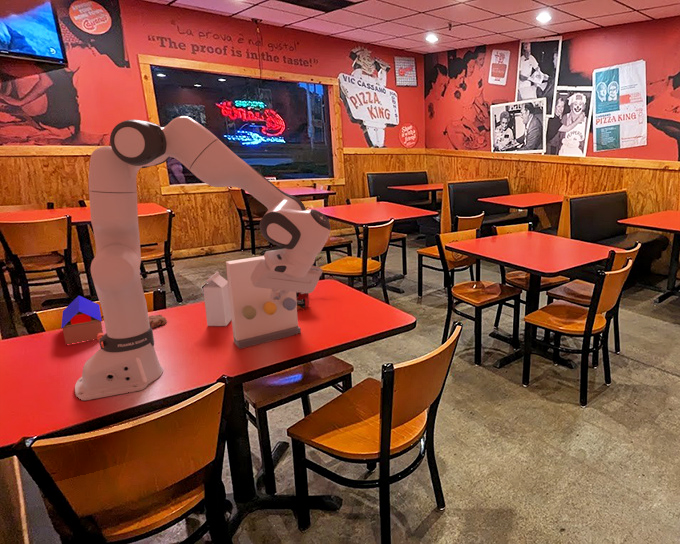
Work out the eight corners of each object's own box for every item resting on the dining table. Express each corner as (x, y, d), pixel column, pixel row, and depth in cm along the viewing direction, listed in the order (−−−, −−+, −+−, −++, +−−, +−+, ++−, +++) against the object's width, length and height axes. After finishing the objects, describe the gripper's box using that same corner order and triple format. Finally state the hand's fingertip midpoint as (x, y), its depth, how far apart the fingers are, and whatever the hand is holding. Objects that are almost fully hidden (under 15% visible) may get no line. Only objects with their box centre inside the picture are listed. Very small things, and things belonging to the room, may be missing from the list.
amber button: (265, 316, 143) (264, 304, 142) (262, 313, 145) (261, 302, 144) (277, 313, 145) (276, 302, 144) (274, 311, 147) (273, 299, 146)
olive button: (244, 320, 139) (243, 308, 138) (242, 318, 142) (241, 306, 141) (256, 318, 141) (255, 306, 140) (254, 315, 144) (253, 304, 142)
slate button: (285, 311, 146) (284, 300, 145) (282, 309, 148) (281, 298, 147) (296, 309, 148) (295, 298, 147) (293, 307, 150) (292, 295, 149)
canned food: (286, 310, 176) (285, 283, 173) (294, 303, 184) (293, 278, 181) (304, 311, 174) (303, 285, 171) (311, 304, 181) (310, 279, 178)
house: (65, 347, 148) (58, 314, 145) (66, 327, 165) (60, 298, 162) (105, 338, 154) (99, 307, 151) (102, 320, 171) (96, 292, 168)
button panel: (239, 348, 143) (231, 265, 135) (233, 342, 148) (225, 261, 140) (300, 333, 154) (296, 255, 146) (293, 327, 158) (289, 252, 151)
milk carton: (232, 319, 168) (227, 271, 163) (226, 326, 161) (220, 277, 156) (214, 319, 169) (209, 271, 164) (207, 326, 162) (201, 276, 157)
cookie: (131, 330, 161) (130, 322, 160) (147, 319, 171) (146, 312, 170) (157, 331, 160) (155, 323, 159) (171, 320, 170) (170, 313, 169)
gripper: (320, 261, 132) (300, 294, 138) (260, 250, 120) (240, 287, 126) (328, 274, 128) (307, 308, 134) (267, 265, 116) (246, 302, 122)
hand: (274, 298), depth 130 cm, fingers closed
